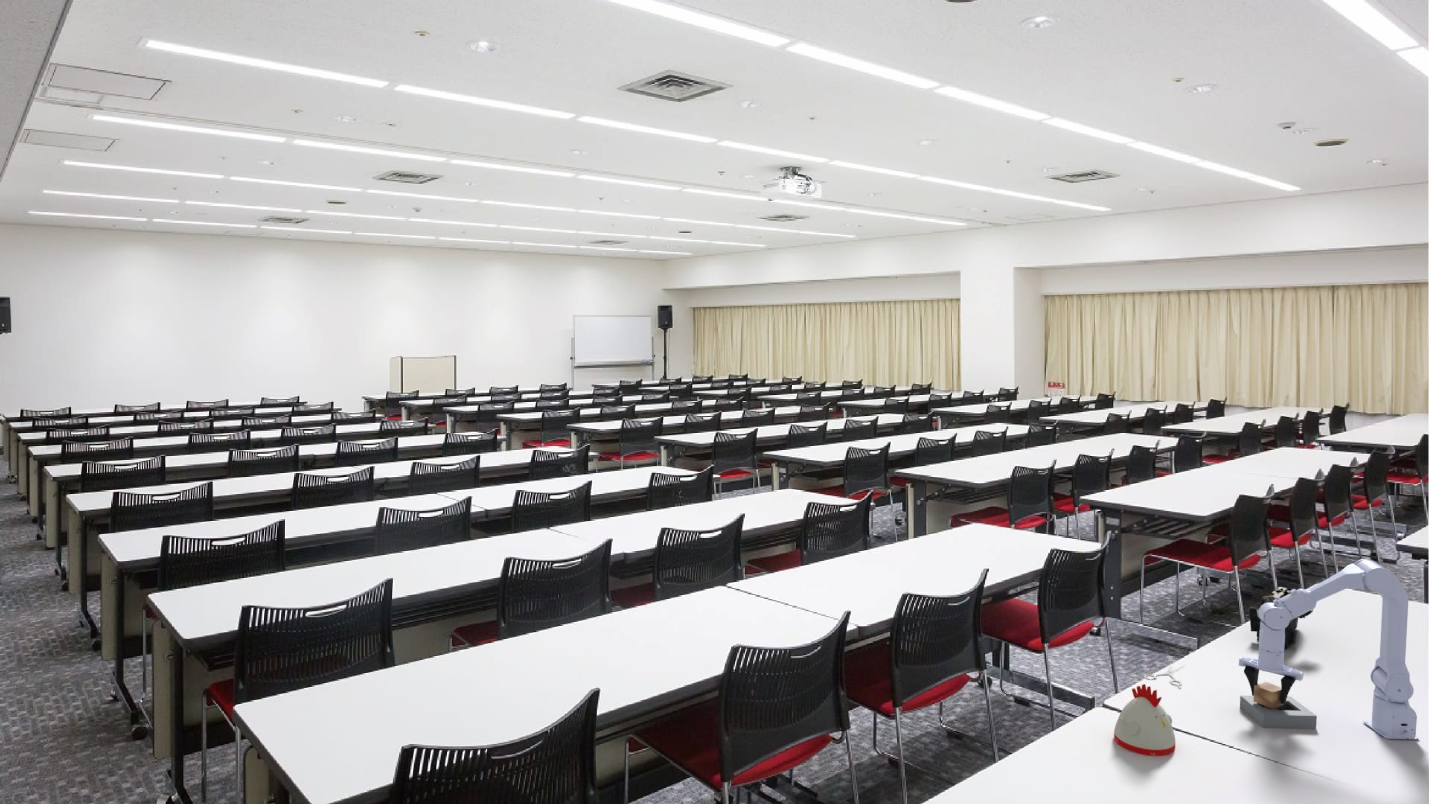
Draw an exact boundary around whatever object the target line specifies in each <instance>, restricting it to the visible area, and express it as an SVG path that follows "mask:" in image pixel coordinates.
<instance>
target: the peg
mask: <svg viewBox="0 0 1429 804" xmlns="http://www.w3.org/2000/svg"><path fill="white" fill-rule="evenodd" d="M1281 692H1282V689H1281V686H1279V685H1275V684H1273V683H1271V682H1267V681H1263V682H1262V683H1258V684H1257V685H1254V702H1257V703H1259V704H1262V705H1264V706H1265V707H1269V708H1275V707H1278V706H1282V705H1284V704H1282V703H1281Z"/></svg>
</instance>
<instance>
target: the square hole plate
mask: <svg viewBox="0 0 1429 804" xmlns="http://www.w3.org/2000/svg"><path fill="white" fill-rule="evenodd" d="M1241 708H1242V709H1241ZM1239 709H1241V710H1242V711H1243V712H1244V711H1245V714H1247V715H1248V716H1249V717H1250V716H1251V717H1250V718H1251V719H1253V720H1254V721H1255V722H1256V723H1257V722H1258V723H1257V724H1258V725H1259V726H1261V727H1262V728H1272V729H1274V728H1275V729H1276V728H1278V729H1281V728H1282V729H1315V730H1316V729H1317V718H1318V717H1317V716H1318V715H1316V714H1315V713H1314V712H1313V711H1311V710H1310V709H1308V708H1307V707H1306V706H1305V705H1303V704H1302V703H1300V701H1297V700H1296V699H1295V698H1293V697H1292V696H1291V695H1290V696H1289V695H1287V699H1286V702H1285V703H1284V705H1282V706H1278V707H1275V708H1269V707H1265V706H1264V705H1262V704H1259V703H1257V702H1254V696H1252V695H1240V697H1239ZM1279 709H1281V710H1279Z"/></svg>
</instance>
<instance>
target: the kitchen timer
mask: <svg viewBox="0 0 1429 804" xmlns="http://www.w3.org/2000/svg"><path fill="white" fill-rule="evenodd" d="M1131 692H1132V695H1133V699H1131V700H1130V701H1129V702H1127V703H1126V704H1125V705H1124V707H1123V708H1122V710H1121V712H1120V713H1119V715H1118V717H1117V721H1116V722H1115V726H1114V729H1113V730H1114V732H1113V733H1114V734H1113V736H1114V737H1113V739H1114V741H1115V743H1116V744H1117V745H1118V746H1120V747H1122V748H1123V749H1125V750H1128V751H1129V752H1131V753H1135V754H1138V755H1143V756H1149V757H1162V756H1163V757H1164V756H1168V755H1171V754H1172V753H1174V752H1175V750H1176V735H1175V732H1174V729H1173V725H1172V723H1173V720H1172V717H1171V715H1169V714H1168V713H1167V712H1166V710H1165V709H1164V708H1163V707H1162V705H1161V704H1160V702H1161V700H1162V696H1159V697H1158V689H1154V690H1153V691H1152V689H1151V686H1149V685H1148V686H1146V684H1144V683H1143V684H1142V685H1141V686H1140V685H1138V686H1136V688H1134V687H1133V688H1132V689H1131Z"/></svg>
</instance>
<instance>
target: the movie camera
mask: <svg viewBox="0 0 1429 804" xmlns="http://www.w3.org/2000/svg"><path fill="white" fill-rule="evenodd" d="M1293 589H1294V588H1287V587H1282V586H1278V587H1277V590H1274V591H1272V592H1271V594H1270V595H1263V596H1262V597H1261V601H1260V607H1261V606H1262V605H1263V604H1265V603H1274V602H1273V600H1275V599H1277V600H1278V599H1280V598H1282V597H1284V596H1286V595H1288V594H1290V593H1291V592H1290V591H1291V590H1293ZM1248 609H1249V610H1248V612H1249V613H1248V618H1249V623H1250V631H1251V632H1256V637H1257V638H1256V639H1257V640H1258V641H1257V642H1258V643H1259V634H1260V622H1261V619H1260V618H1259V617H1258V614H1257V611H1259V608H1257V607H1254V606H1250V607H1249V608H1248ZM1313 611H1314V609H1312V610H1310V611H1308V612H1306V613H1304V614H1302V615H1300V616H1298V617H1296V618H1294V619H1292V620H1290V622H1289V625H1288V626H1287V627H1286V628H1285V644H1284V651H1285V650H1288V648H1289V647H1288V646H1291V645H1295V644H1296V642H1297V630H1296V629H1297V628H1298V624H1299V623H1298V622H1299V619H1305V618H1306V617H1308V616H1310V615H1311V614H1312V613H1313Z"/></svg>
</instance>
